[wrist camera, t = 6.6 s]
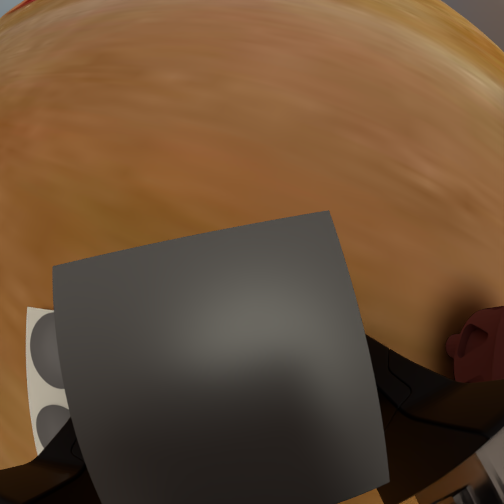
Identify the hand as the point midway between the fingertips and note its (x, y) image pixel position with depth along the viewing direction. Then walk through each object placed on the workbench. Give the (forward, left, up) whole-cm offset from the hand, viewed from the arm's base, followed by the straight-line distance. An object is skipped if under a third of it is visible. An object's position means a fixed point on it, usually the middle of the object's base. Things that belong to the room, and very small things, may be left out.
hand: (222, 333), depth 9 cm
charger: (-1, 0, -7) cm, 7 cm away
